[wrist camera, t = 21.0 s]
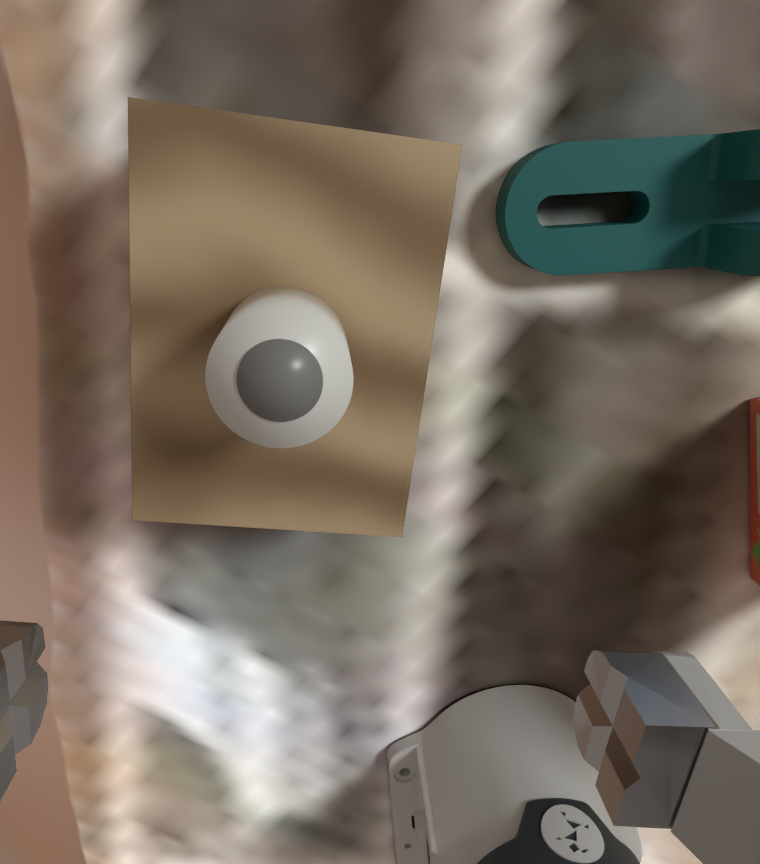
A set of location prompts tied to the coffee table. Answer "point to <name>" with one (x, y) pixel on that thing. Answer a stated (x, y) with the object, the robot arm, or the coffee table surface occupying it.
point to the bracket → (640, 205)
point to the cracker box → (755, 489)
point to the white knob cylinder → (280, 368)
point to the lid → (280, 266)
